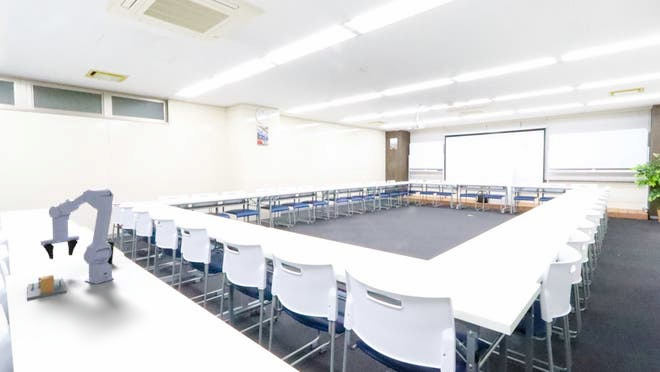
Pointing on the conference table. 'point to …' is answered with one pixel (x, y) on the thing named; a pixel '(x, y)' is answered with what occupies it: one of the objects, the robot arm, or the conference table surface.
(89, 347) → the conference table surface
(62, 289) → the board
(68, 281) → the conference table surface
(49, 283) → the block
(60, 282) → the clips
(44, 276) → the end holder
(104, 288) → the conference table surface
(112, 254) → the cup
